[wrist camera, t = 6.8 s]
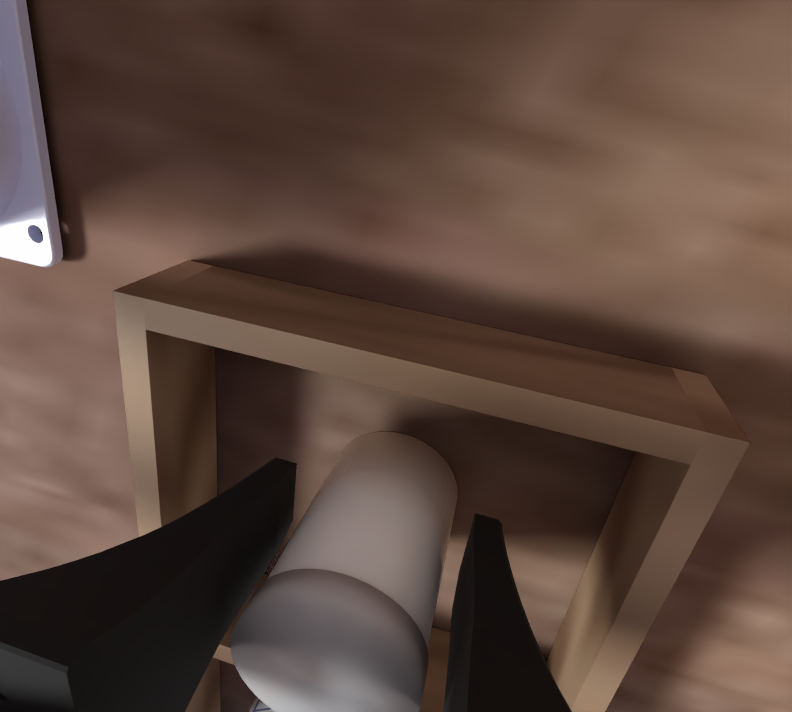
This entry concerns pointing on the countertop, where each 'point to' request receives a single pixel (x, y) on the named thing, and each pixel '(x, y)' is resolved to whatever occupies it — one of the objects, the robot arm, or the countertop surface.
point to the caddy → (449, 384)
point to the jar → (354, 586)
